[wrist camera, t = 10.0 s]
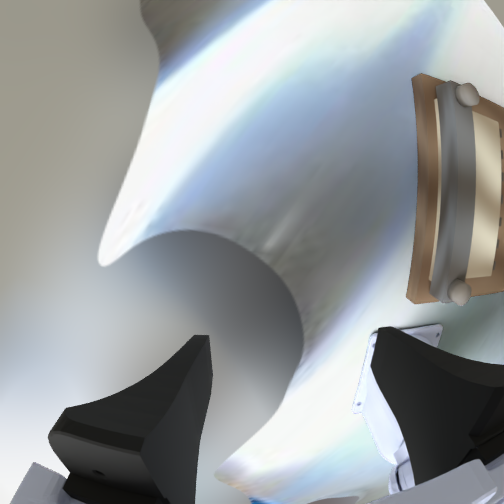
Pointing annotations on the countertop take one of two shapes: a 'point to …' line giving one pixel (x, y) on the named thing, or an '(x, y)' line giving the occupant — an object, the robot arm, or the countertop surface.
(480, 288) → the ticket board
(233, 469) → the countertop surface
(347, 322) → the countertop surface
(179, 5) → the countertop surface
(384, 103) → the countertop surface
